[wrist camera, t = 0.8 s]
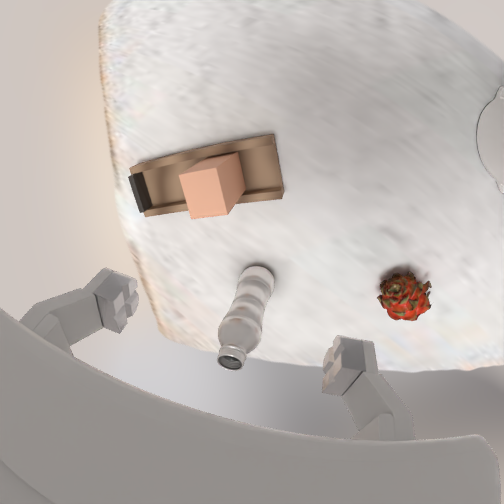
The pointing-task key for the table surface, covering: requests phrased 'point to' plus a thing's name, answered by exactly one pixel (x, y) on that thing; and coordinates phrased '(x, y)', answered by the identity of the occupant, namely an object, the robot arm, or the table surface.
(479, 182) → the table surface
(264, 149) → the chute
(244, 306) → the plastic bottle
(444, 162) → the table surface
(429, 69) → the table surface
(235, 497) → the robot arm
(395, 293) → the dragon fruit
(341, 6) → the table surface
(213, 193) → the block
